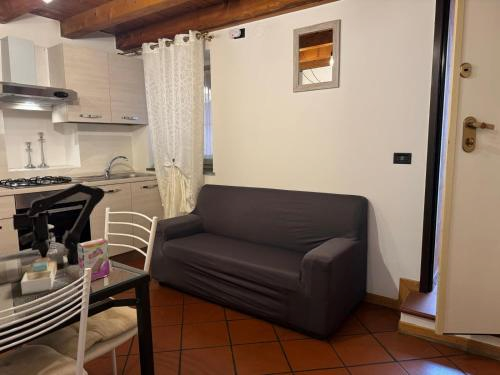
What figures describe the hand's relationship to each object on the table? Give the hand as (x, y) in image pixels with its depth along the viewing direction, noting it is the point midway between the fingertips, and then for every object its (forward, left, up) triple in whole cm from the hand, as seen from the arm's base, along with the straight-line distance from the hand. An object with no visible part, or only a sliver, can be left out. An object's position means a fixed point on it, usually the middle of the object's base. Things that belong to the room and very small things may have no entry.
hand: (44, 259), depth 159 cm
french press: (+2, -27, -5) cm, 27 cm away
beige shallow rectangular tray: (0, +8, -5) cm, 10 cm away
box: (0, +22, -5) cm, 23 cm away
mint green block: (0, +12, -1) cm, 12 cm away
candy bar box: (-21, +23, -5) cm, 32 cm away
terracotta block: (0, +6, -1) cm, 6 cm away
